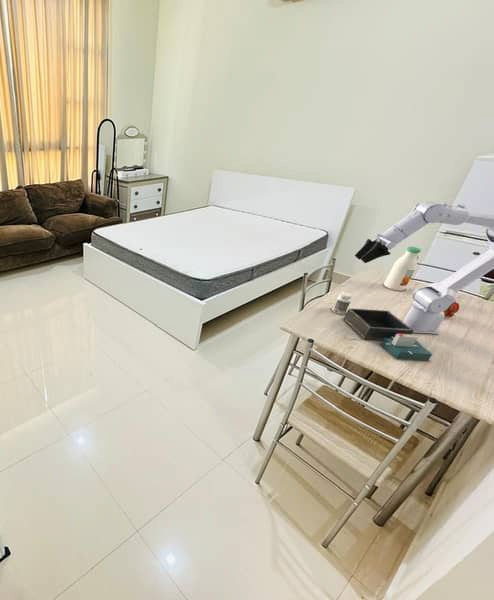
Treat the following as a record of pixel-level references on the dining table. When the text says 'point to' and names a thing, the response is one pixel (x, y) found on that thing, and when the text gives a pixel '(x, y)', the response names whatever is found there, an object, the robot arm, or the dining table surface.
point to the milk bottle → (403, 270)
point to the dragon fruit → (451, 309)
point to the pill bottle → (342, 303)
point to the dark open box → (375, 324)
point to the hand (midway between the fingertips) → (359, 259)
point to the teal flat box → (406, 350)
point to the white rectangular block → (404, 340)
